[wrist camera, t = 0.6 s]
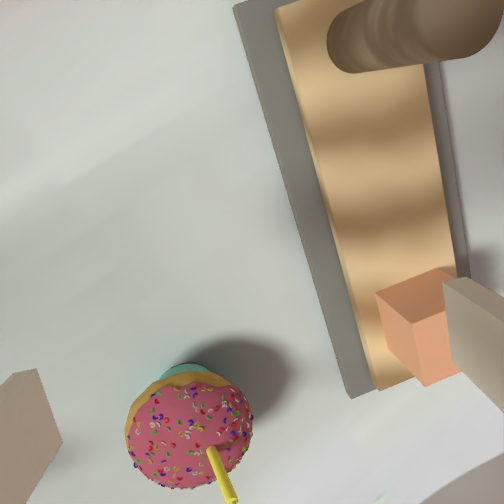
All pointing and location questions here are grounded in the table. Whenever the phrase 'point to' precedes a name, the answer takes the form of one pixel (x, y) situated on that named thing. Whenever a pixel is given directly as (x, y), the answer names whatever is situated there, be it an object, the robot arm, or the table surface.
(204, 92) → the table surface
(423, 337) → the cube
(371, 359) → the tan wooden stand
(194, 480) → the cupcake
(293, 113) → the lane board
